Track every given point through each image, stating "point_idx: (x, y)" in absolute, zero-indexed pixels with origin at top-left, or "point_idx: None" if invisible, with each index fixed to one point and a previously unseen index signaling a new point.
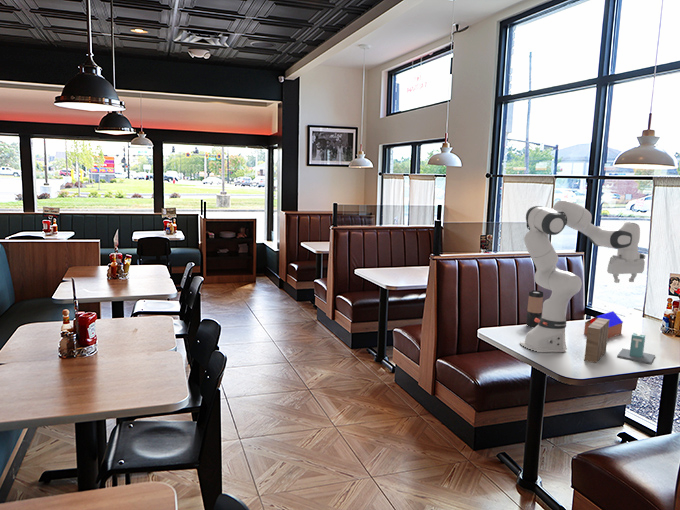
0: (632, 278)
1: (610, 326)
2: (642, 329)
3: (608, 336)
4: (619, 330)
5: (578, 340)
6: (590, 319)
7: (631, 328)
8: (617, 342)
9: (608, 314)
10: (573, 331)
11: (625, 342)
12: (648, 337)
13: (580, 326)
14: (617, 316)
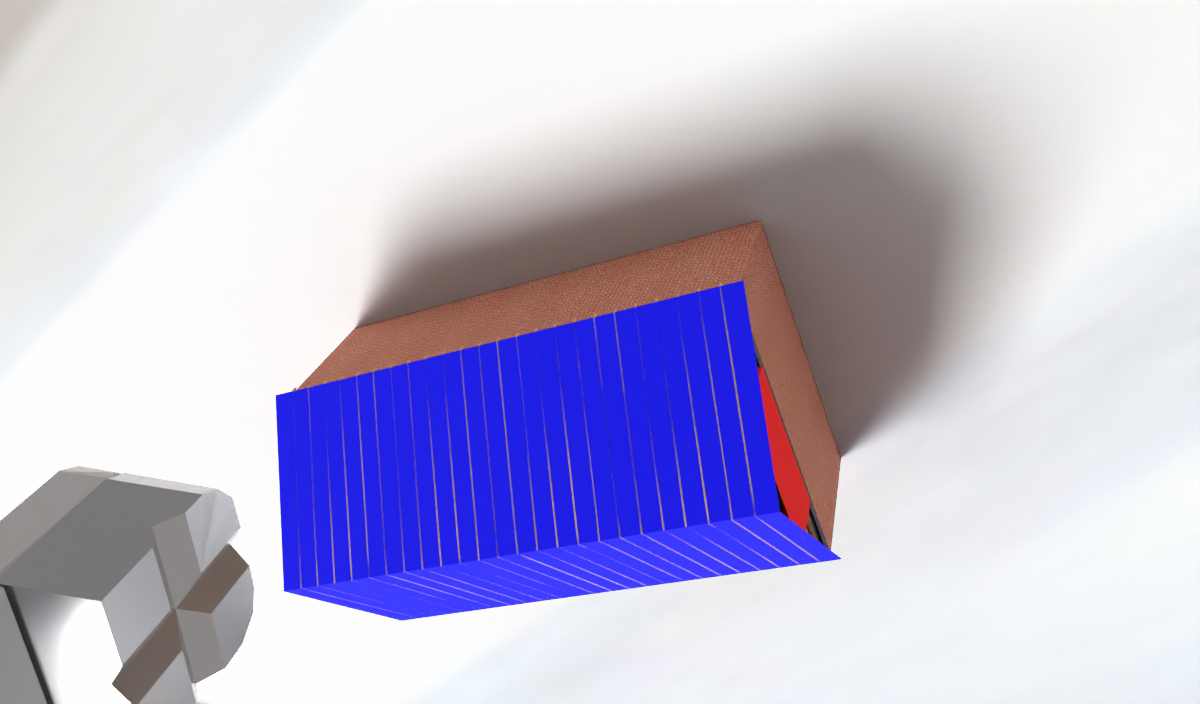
0: (19, 643)
1: (619, 316)
2: (12, 352)
3: (666, 255)
4: (381, 339)
5: (1182, 306)
6: (802, 539)
7: (108, 413)
8: (694, 78)
9: (442, 536)
10: (875, 565)
11: (580, 46)
12: (129, 120)
13: (624, 643)
14: (290, 495)
